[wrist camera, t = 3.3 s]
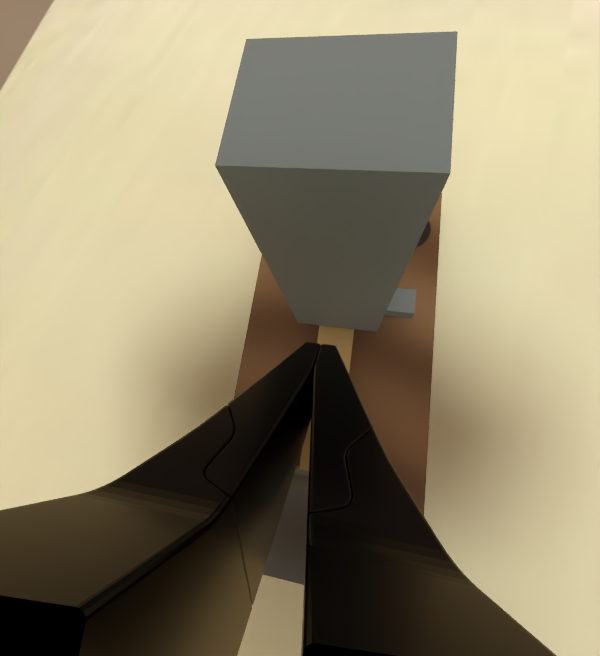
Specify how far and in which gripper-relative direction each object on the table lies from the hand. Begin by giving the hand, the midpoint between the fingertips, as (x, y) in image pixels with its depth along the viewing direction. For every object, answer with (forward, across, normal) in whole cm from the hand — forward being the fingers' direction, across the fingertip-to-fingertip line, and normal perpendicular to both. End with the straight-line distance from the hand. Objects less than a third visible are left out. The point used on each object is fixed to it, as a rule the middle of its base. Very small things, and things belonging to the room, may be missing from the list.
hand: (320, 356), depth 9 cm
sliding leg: (+8, -1, +2) cm, 8 cm away
